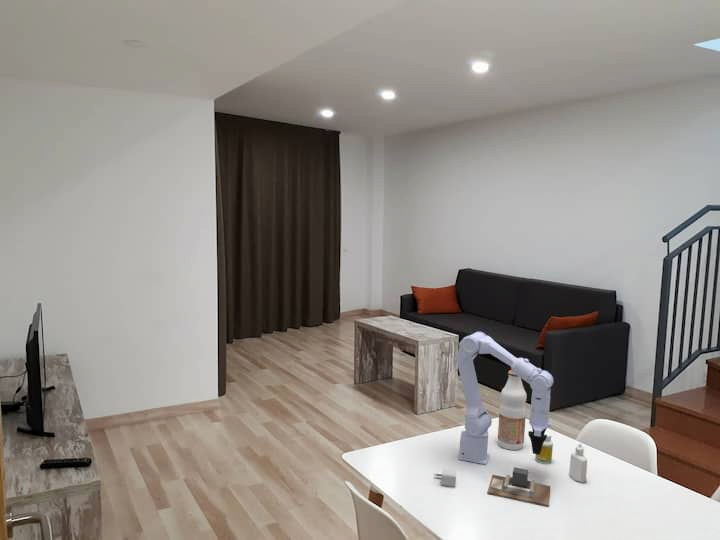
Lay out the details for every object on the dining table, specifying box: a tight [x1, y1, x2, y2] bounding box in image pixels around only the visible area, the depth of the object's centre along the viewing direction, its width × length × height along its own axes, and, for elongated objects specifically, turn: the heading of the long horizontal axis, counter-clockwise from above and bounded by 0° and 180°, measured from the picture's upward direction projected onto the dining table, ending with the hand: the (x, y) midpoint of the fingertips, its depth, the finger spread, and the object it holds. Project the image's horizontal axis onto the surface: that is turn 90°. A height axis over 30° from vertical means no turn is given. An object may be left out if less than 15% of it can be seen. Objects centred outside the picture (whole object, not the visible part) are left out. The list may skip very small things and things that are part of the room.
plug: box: [512, 466, 529, 489], centre depth 171 cm, size 4×3×6 cm
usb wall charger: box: [433, 468, 457, 488], centre depth 174 cm, size 4×7×4 cm, turn 78°
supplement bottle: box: [535, 431, 554, 465], centre depth 192 cm, size 5×5×10 cm
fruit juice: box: [497, 369, 528, 451], centre depth 202 cm, size 9×9×28 cm
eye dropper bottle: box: [568, 443, 588, 484], centre depth 179 cm, size 4×6×12 cm
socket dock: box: [486, 474, 551, 508], centre depth 171 cm, size 18×12×3 cm, turn 69°
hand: (537, 448), depth 180 cm, fingers open, 7 cm apart
